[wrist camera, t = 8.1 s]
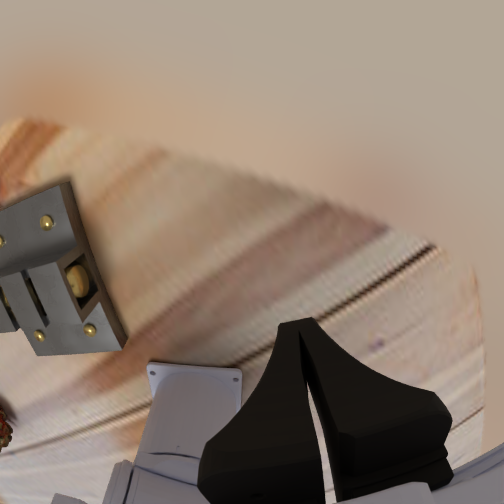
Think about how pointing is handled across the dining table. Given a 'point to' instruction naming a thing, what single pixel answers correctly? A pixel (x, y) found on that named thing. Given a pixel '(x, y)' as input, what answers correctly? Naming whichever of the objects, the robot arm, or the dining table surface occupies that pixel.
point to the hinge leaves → (53, 278)
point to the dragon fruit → (4, 430)
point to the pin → (76, 281)
